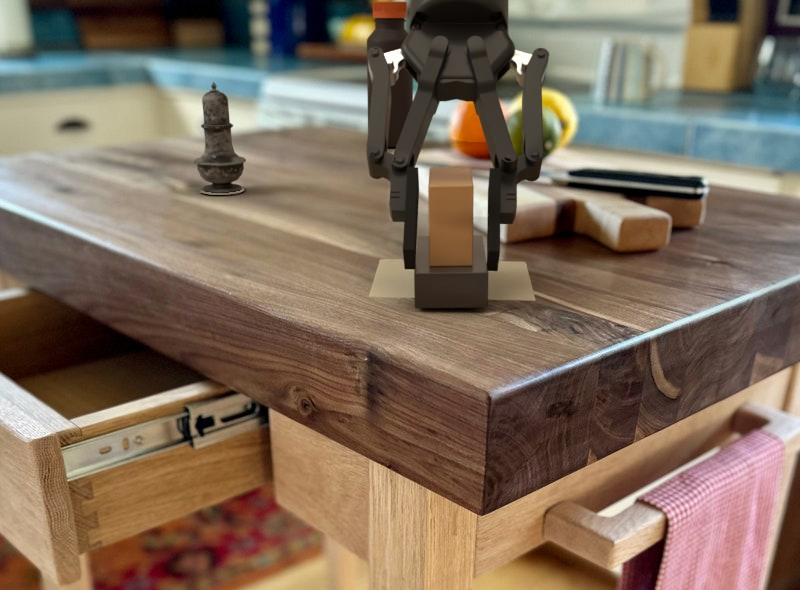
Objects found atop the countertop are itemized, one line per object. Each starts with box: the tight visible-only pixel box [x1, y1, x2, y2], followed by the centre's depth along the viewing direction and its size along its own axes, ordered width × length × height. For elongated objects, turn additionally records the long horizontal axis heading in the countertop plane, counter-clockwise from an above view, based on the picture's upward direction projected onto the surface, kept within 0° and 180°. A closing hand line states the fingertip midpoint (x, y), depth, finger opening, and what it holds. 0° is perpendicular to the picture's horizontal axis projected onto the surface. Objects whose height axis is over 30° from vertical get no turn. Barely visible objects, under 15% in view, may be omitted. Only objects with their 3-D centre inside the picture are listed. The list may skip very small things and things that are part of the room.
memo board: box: [368, 258, 536, 302], centre depth 67 cm, size 12×10×1 cm
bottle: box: [366, 0, 414, 147], centre depth 129 cm, size 7×7×20 cm
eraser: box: [414, 166, 489, 309], centre depth 62 cm, size 10×5×8 cm, turn 177°
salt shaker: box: [193, 81, 247, 193], centre depth 99 cm, size 6×6×12 cm
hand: (451, 259), depth 59 cm, fingers closed on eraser, 5 cm apart
